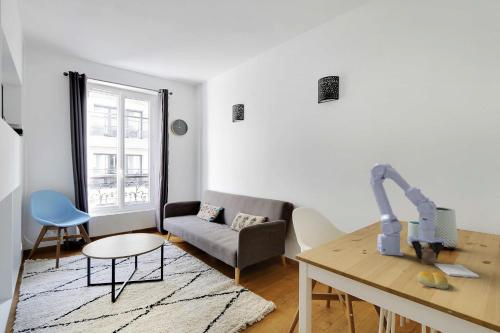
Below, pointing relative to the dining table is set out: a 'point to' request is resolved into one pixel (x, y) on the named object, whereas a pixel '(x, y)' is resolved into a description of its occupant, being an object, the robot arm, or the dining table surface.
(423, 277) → the bread roll
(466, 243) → the dining table surface
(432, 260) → the walnut block
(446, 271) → the grey tile
